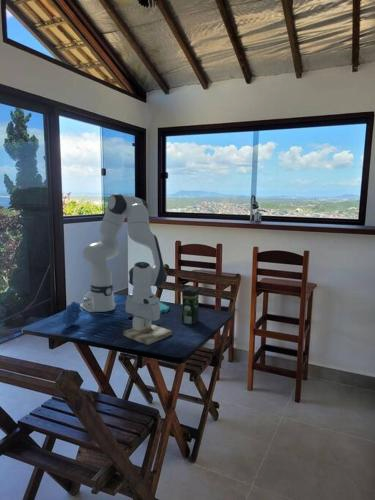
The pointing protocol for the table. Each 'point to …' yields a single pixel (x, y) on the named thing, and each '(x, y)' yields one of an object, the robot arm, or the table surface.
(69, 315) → the grapes
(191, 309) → the coffee jar
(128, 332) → the birch board
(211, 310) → the table surface
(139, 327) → the block
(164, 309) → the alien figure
